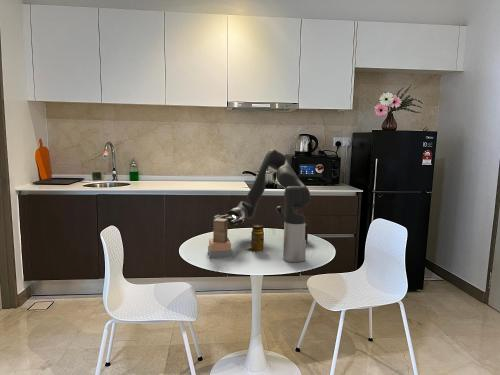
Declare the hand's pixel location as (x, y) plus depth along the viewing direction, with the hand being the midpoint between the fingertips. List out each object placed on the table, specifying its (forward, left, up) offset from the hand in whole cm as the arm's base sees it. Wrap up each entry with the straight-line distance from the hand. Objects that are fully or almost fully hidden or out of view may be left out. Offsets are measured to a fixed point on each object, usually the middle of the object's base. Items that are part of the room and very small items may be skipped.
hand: (222, 222), depth 178 cm
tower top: (+2, +2, -11) cm, 12 cm away
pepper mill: (-38, -16, -15) cm, 44 cm away
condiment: (-16, -2, -15) cm, 22 cm away
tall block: (+1, +2, -8) cm, 8 cm away
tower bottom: (+2, +2, -15) cm, 15 cm away
